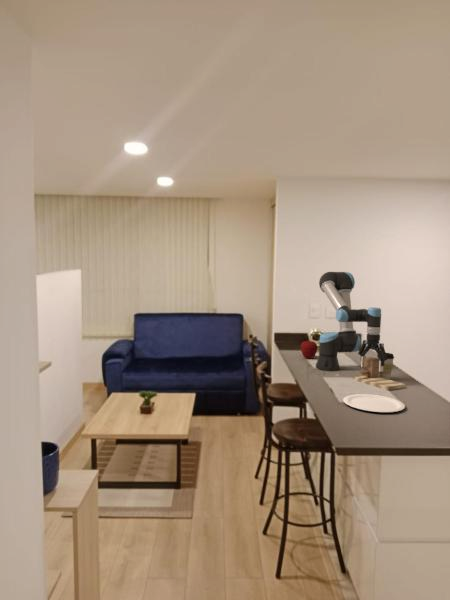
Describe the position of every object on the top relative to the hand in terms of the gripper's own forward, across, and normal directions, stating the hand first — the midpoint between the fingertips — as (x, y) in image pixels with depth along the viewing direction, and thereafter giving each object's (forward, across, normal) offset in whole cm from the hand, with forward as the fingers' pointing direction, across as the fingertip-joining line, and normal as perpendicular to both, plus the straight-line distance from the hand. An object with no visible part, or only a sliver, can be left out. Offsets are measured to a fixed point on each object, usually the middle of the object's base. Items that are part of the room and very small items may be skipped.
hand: (371, 369), depth 284 cm
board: (+7, +8, -3) cm, 11 cm away
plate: (+8, +35, -38) cm, 52 cm away
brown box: (+5, 0, -3) cm, 5 cm away
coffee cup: (+7, +1, +10) cm, 12 cm away
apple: (+6, -65, +7) cm, 65 cm away
